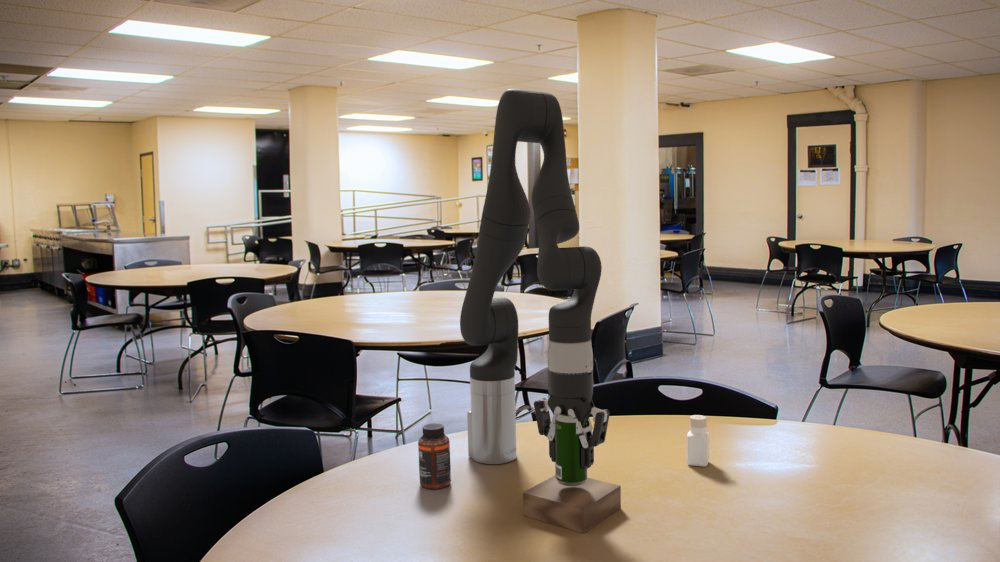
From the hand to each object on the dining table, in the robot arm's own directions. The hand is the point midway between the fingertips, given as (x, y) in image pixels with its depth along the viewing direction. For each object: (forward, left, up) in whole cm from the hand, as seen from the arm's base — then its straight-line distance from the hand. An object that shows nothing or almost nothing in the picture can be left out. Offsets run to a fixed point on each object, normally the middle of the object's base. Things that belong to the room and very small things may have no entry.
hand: (571, 463), depth 127 cm
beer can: (0, 0, -3) cm, 3 cm away
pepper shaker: (+8, +34, -9) cm, 36 cm away
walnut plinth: (0, 0, -8) cm, 8 cm away
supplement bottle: (-28, -4, -9) cm, 29 cm away
